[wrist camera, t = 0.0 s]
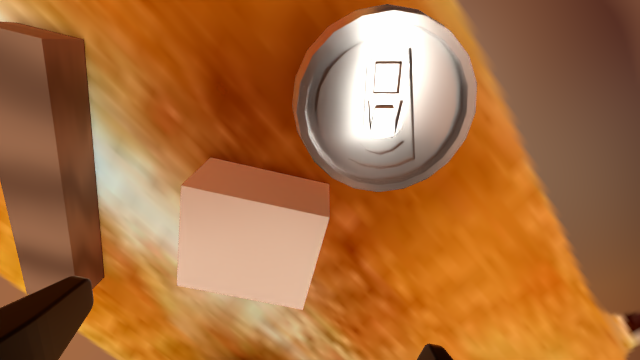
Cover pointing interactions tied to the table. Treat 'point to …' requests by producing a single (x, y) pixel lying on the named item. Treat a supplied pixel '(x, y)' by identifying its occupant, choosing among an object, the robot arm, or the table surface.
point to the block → (251, 232)
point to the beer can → (384, 98)
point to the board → (48, 156)
